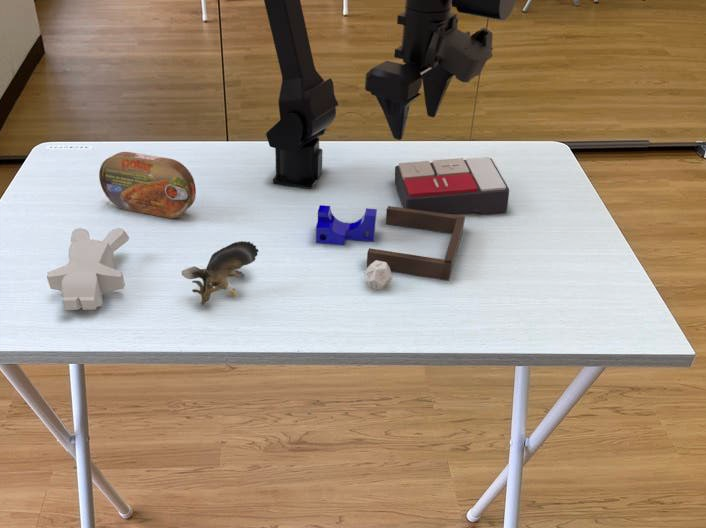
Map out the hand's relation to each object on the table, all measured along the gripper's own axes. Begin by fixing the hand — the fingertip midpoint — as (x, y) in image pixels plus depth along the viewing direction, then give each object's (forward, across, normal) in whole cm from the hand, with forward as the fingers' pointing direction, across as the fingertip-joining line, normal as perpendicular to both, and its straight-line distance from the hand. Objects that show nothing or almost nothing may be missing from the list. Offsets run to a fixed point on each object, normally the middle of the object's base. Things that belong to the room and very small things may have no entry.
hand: (415, 127), depth 107 cm
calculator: (+13, +7, -3) cm, 15 cm away
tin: (+13, -22, +31) cm, 40 cm away
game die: (+13, -19, -7) cm, 24 cm away
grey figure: (+13, -40, +24) cm, 49 cm away
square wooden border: (+13, -9, -6) cm, 17 cm away
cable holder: (+13, -12, +3) cm, 18 cm away
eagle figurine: (+13, -32, +8) cm, 36 cm away
